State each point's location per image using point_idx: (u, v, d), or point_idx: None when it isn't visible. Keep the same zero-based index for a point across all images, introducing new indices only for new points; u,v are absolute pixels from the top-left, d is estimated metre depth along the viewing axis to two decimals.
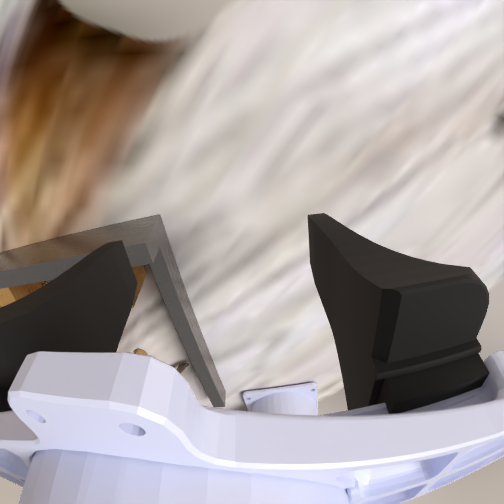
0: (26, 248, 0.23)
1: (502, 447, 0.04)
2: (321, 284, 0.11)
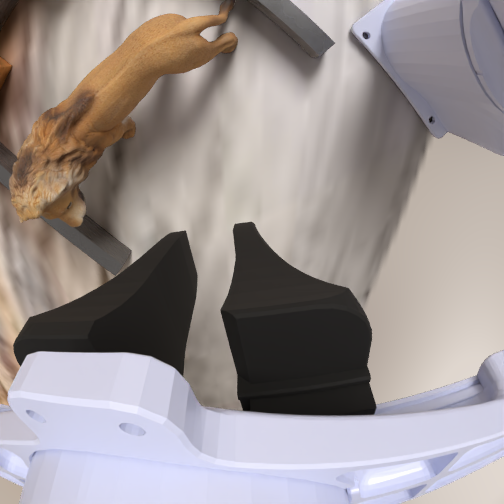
0: None
1: (502, 447, 0.04)
2: None
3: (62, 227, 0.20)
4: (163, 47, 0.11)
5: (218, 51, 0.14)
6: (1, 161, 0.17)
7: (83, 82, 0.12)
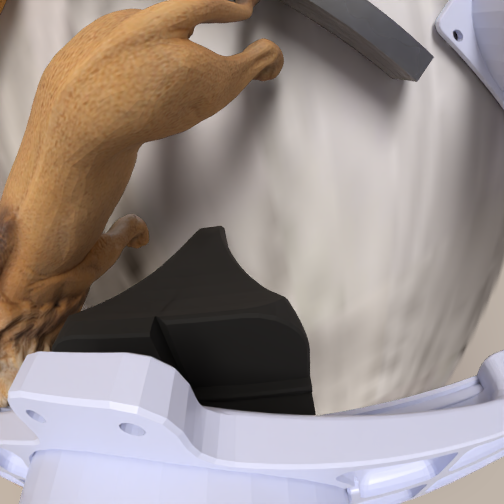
0: None
1: (502, 447, 0.04)
2: None
3: None
4: (95, 86, 0.04)
5: (249, 75, 0.07)
6: None
7: None
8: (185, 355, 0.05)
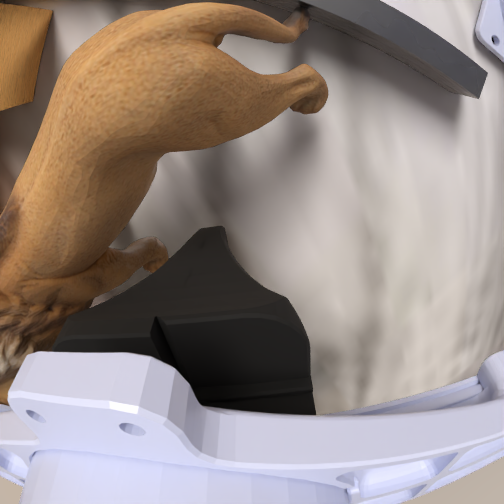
0: None
1: (502, 447, 0.04)
2: None
3: None
4: (104, 78, 0.04)
5: (284, 100, 0.07)
6: None
7: (17, 180, 0.06)
8: (186, 355, 0.05)
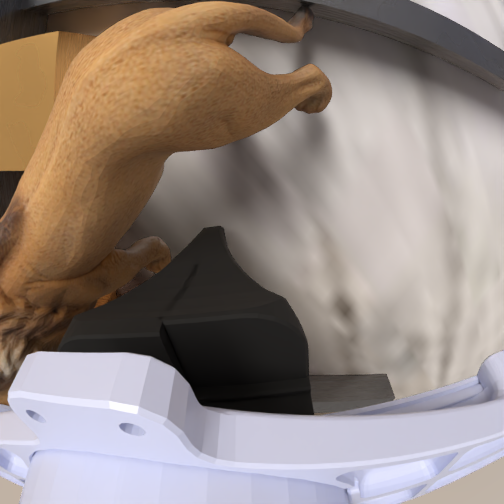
0: None
1: (502, 447, 0.04)
2: None
3: (315, 408, 0.17)
4: (116, 77, 0.04)
5: (292, 99, 0.07)
6: None
7: (20, 180, 0.06)
8: (184, 355, 0.05)
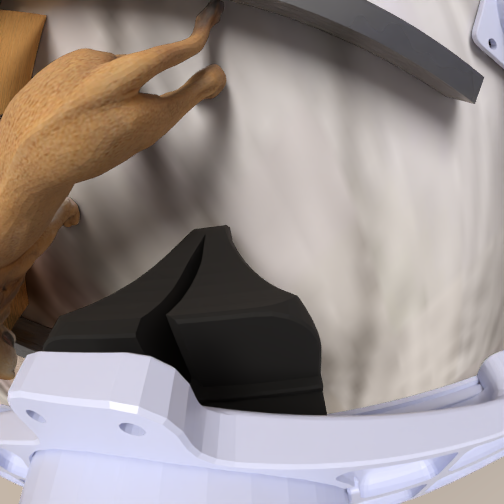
0: None
1: (502, 447, 0.04)
2: None
3: None
4: (55, 141, 0.05)
5: (188, 108, 0.08)
6: None
7: None
8: (197, 354, 0.05)
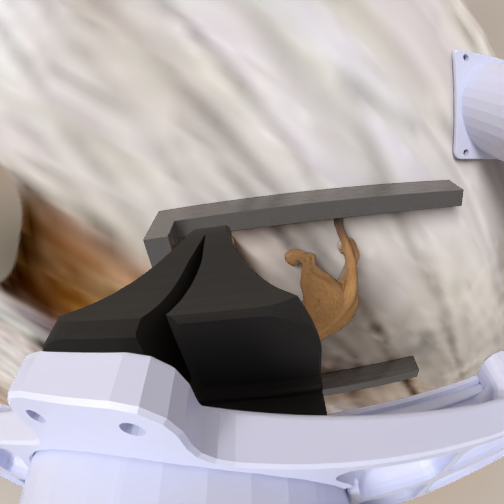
0: None
1: (502, 447, 0.04)
2: None
3: (372, 384, 0.29)
4: (341, 322, 0.18)
5: None
6: None
7: None
8: (197, 354, 0.05)
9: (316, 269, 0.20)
